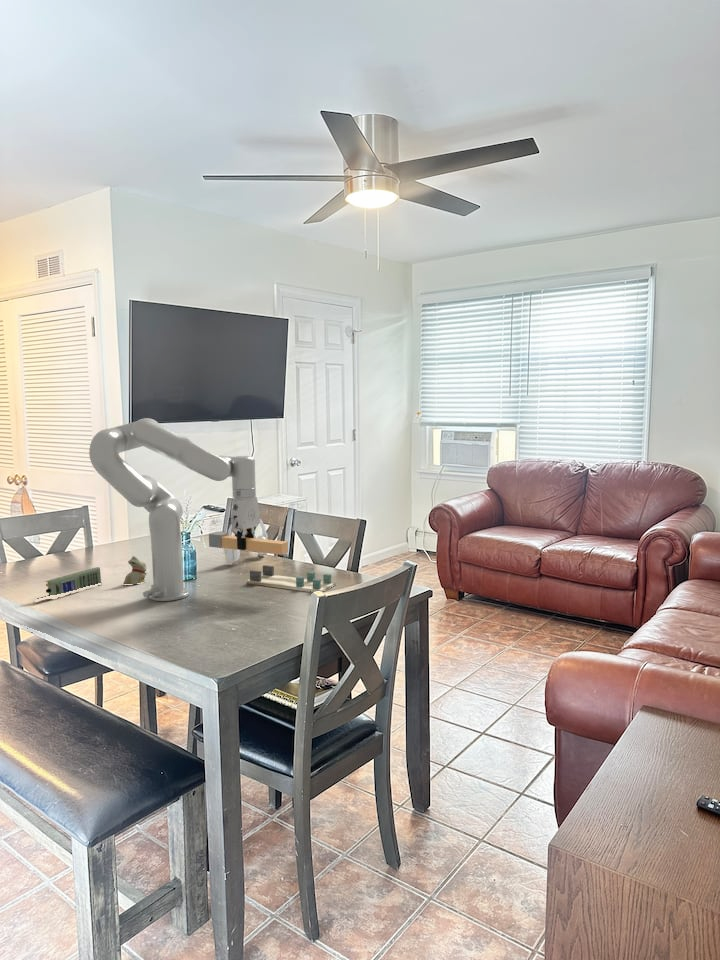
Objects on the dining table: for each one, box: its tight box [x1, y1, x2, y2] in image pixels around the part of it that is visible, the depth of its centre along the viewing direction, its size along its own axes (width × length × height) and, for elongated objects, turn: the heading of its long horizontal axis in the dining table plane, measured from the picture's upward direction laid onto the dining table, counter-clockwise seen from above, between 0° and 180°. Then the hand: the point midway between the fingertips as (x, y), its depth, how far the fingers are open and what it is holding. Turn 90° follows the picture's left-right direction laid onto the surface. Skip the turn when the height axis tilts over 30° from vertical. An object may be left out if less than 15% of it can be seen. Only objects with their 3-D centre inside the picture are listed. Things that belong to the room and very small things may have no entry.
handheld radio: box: [36, 567, 102, 599], centre depth 221 cm, size 7×3×25 cm
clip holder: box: [246, 564, 337, 593], centre depth 229 cm, size 10×30×4 cm, turn 64°
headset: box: [225, 518, 269, 566], centre depth 263 cm, size 20×7×18 cm, turn 141°
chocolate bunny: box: [123, 555, 147, 584], centre depth 233 cm, size 6×8×10 cm
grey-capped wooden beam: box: [208, 531, 289, 556], centre depth 219 cm, size 4×29×4 cm, turn 63°
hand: (245, 547), depth 219 cm, fingers closed on grey-capped wooden beam, 3 cm apart
